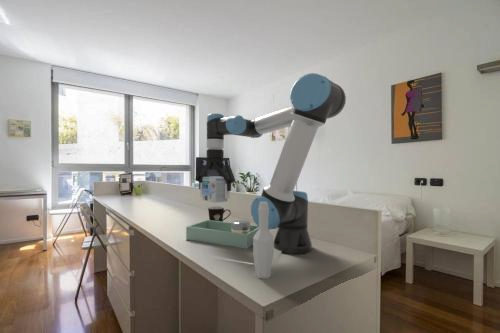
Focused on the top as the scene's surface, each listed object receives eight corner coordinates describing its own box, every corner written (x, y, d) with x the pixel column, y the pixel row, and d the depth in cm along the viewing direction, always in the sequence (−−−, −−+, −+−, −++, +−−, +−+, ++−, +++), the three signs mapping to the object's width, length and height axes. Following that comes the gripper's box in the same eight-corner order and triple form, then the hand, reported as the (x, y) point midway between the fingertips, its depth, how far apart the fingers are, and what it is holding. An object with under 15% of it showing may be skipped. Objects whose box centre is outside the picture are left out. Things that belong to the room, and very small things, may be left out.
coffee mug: (205, 227, 135) (205, 208, 135) (210, 223, 144) (211, 206, 144) (227, 228, 133) (227, 209, 133) (231, 224, 142) (231, 206, 142)
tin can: (253, 239, 111) (253, 221, 111) (244, 244, 104) (245, 225, 104) (236, 237, 115) (236, 219, 115) (227, 242, 107) (227, 223, 107)
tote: (262, 239, 114) (262, 226, 114) (247, 250, 100) (247, 234, 99) (206, 231, 126) (206, 219, 126) (186, 240, 112) (186, 226, 112)
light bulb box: (201, 200, 115) (201, 176, 115) (213, 199, 120) (214, 176, 120) (215, 203, 108) (215, 177, 108) (228, 201, 112) (228, 177, 112)
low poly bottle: (250, 271, 79) (250, 201, 79) (270, 270, 81) (270, 200, 81) (255, 280, 73) (256, 204, 73) (276, 278, 74) (277, 203, 74)
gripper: (243, 149, 112) (242, 198, 112) (197, 150, 122) (197, 195, 122) (235, 148, 105) (235, 200, 106) (187, 149, 115) (187, 196, 115)
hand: (214, 197), depth 114 cm, fingers closed on light bulb box, 12 cm apart
